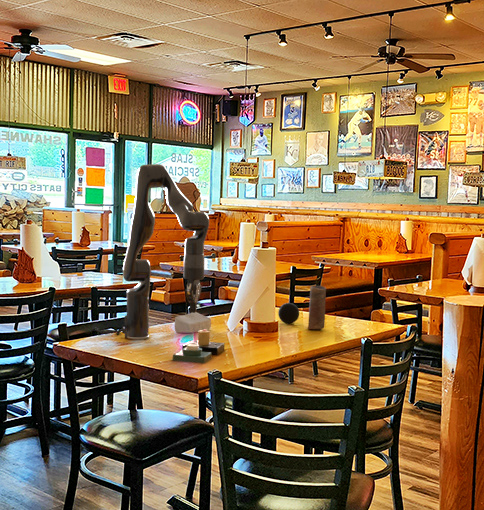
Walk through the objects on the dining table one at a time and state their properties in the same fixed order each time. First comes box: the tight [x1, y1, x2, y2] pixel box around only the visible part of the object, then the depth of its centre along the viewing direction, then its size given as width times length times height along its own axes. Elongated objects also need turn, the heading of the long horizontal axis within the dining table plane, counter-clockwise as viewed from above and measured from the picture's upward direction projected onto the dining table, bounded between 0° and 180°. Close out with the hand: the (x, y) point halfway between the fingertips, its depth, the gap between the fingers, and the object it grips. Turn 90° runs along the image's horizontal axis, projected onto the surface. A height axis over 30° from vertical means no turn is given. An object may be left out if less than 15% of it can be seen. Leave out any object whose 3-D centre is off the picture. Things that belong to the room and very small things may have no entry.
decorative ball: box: [277, 302, 300, 325], centre depth 335 cm, size 10×10×10 cm
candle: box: [307, 285, 327, 331], centre depth 320 cm, size 8×7×20 cm
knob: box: [197, 330, 211, 345], centre depth 269 cm, size 4×4×5 cm
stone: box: [174, 311, 212, 334], centre depth 312 cm, size 11×17×10 cm, turn 137°
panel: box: [181, 340, 226, 357], centre depth 269 cm, size 14×10×3 cm
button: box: [187, 344, 198, 350], centre depth 256 cm, size 4×4×2 cm
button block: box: [172, 347, 213, 364], centre depth 256 cm, size 12×9×4 cm
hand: (193, 312), depth 259 cm, fingers closed
